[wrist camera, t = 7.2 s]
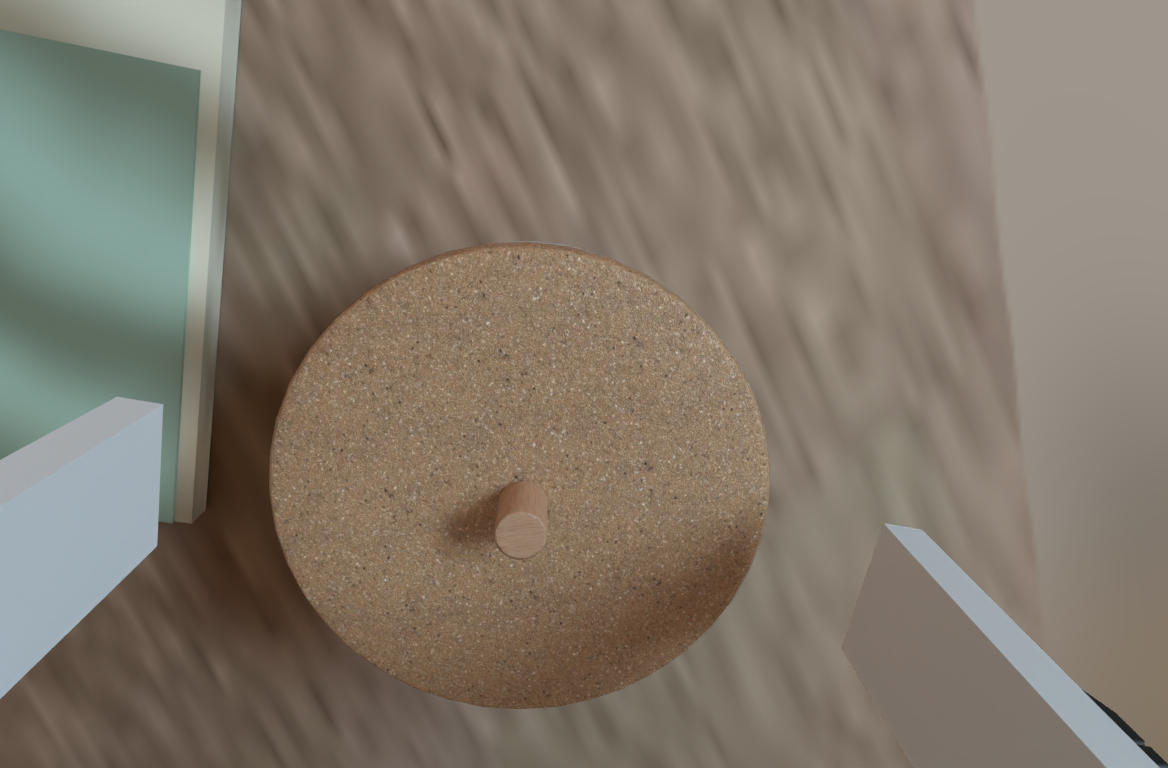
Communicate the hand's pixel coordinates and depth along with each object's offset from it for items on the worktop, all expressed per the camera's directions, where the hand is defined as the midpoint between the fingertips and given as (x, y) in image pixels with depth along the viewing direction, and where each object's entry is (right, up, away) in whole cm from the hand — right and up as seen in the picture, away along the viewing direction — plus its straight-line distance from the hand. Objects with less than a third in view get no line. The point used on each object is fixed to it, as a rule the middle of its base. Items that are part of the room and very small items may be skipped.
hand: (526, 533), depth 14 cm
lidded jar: (-1, +2, +10) cm, 10 cm away
